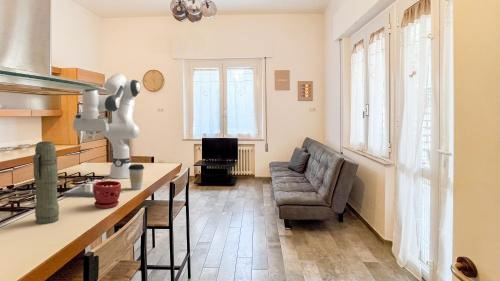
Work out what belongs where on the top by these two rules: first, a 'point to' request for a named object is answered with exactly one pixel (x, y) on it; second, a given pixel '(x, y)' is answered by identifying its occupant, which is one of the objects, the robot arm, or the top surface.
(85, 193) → the breaker panel
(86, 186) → the lever
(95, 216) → the top surface
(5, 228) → the top surface
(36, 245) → the top surface
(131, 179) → the coffee cup
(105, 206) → the plant pot
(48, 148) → the thermos
